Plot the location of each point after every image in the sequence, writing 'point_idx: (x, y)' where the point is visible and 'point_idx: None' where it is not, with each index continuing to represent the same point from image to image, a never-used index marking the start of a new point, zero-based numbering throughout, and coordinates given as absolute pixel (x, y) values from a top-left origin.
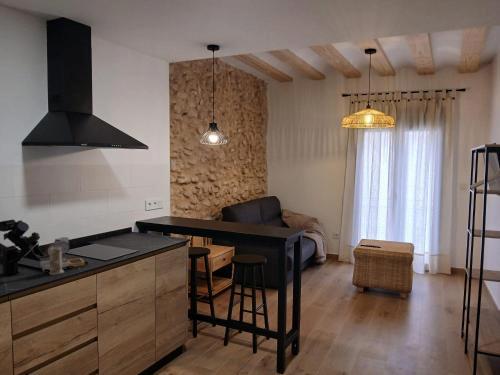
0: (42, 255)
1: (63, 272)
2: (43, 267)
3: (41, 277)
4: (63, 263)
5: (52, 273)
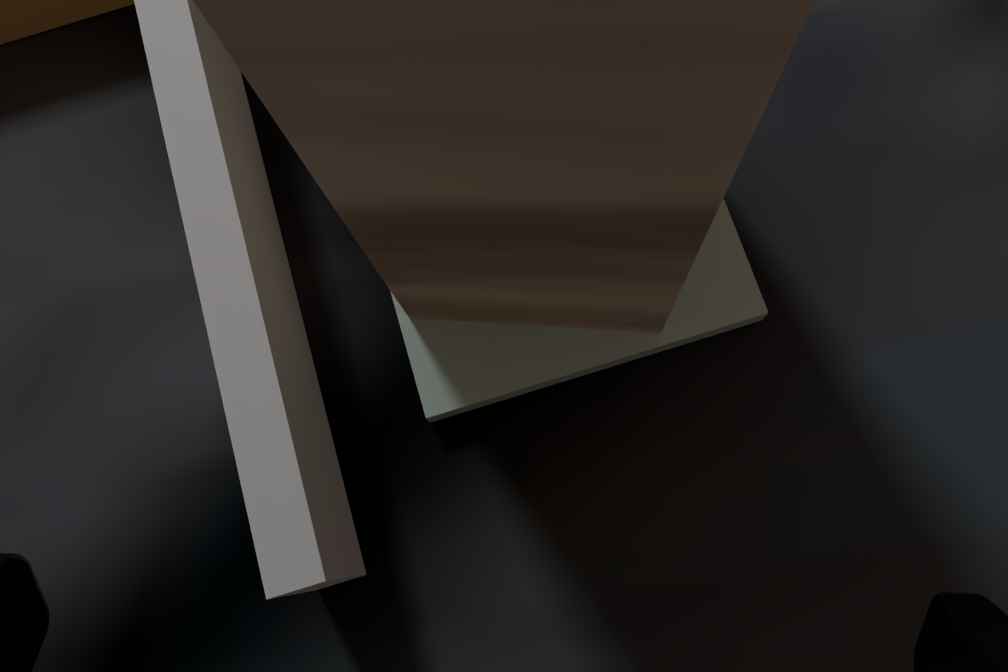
0: (8, 628)
1: None
2: (333, 558)
3: (925, 514)
4: (194, 30)
5: (728, 267)
